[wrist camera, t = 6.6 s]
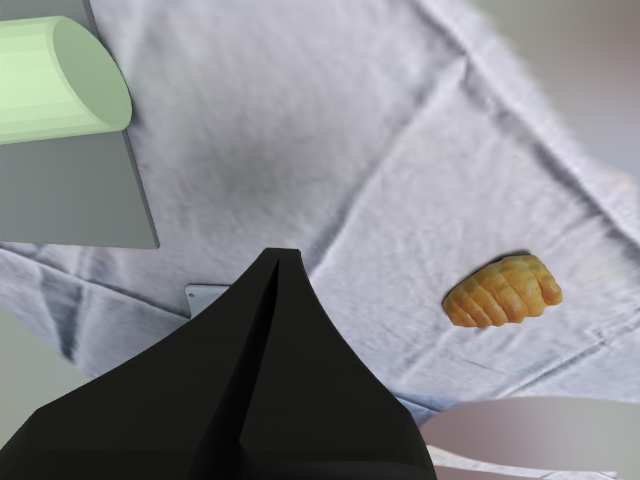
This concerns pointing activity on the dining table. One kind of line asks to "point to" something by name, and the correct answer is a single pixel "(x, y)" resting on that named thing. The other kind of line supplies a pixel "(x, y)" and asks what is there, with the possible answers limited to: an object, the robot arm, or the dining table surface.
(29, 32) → the candle
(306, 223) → the dining table surface
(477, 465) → the dining table surface
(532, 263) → the pastry
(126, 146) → the mat
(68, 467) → the robot arm
